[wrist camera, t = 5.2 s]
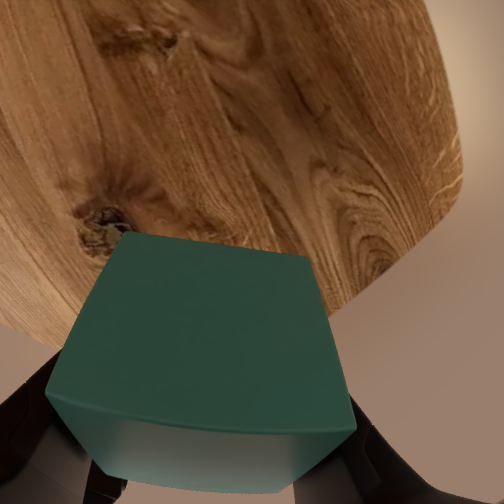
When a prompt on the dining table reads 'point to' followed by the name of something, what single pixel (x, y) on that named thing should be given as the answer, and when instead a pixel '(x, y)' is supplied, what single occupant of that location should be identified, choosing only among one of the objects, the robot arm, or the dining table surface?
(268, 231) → the dining table surface
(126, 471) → the toy cube
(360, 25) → the dining table surface
